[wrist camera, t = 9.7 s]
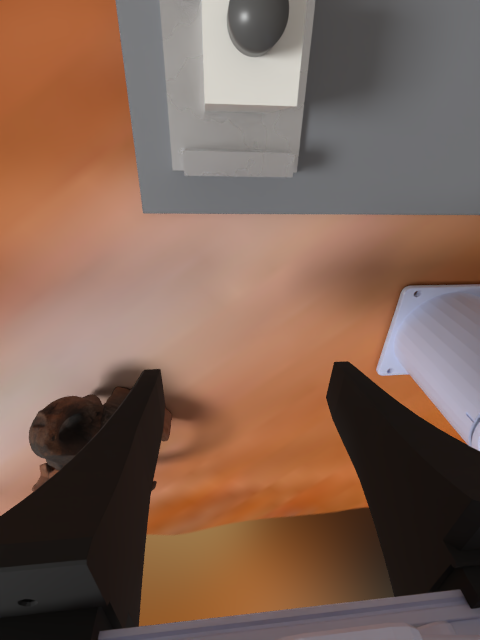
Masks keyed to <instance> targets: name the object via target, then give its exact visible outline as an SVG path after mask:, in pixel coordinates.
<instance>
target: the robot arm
mask: <svg viewBox="0 0 480 640" xmlns="http://www.w3.org/2000/svg"><path fill="white" fill-rule="evenodd" d="M416 291H418V292H417V293H416V294H415V295H414V293H415V292H416ZM388 369H389V370H388ZM376 371H377V372H378V374H379V375H404V374H410V376H411V377H412V378H413V379H414V381H415V382H416V383H417V384H418V385H419V387H420V388H421V389H422V390H423V391H424V393H425V394H426V395H427V396H428V397H429V399H430V400H431V401H432V402H433V403H434V405H435V406H436V407H437V408H438V409H439V411H440V412H441V413H442V414H443V415H444V417H445V418H446V419H447V420H448V421H449V423H450V424H451V425H452V426H453V428H454V429H455V430H456V431H457V432H458V434H459V435H460V436H461V437H462V438H463V440H464V441H465V442H466V443H467V444H468V445H467V444H465V443H463V442H461V441H459V440H457V439H456V438H454V437H452V436H450V435H448V434H447V433H445V432H443V431H441V430H440V429H438V428H436V427H435V426H433V425H432V424H430V423H429V422H427V421H425V420H424V419H422V418H421V417H419V416H418V415H416V414H415V413H413V412H412V411H410V410H409V409H408V408H406V407H405V406H403V405H402V404H401V403H399V402H398V401H397V400H395V399H394V398H393V397H391V396H390V395H389V394H388V393H386V392H385V391H384V390H383V389H381V388H380V387H379V386H378V385H376V384H375V383H374V382H373V381H371V380H370V379H369V378H368V377H367V376H365V375H364V374H363V373H362V372H361V371H359V370H358V369H357V368H356V367H355V366H353V365H352V364H351V363H350V362H334V365H333V370H332V374H331V378H330V383H329V387H328V391H327V396H326V399H327V402H328V406H329V409H330V412H331V415H332V419H333V421H334V423H335V426H336V428H337V430H338V432H339V435H340V437H341V439H342V441H343V443H344V446H345V448H346V450H347V452H348V454H349V456H350V459H351V461H352V463H353V465H354V467H355V470H356V472H357V474H358V477H359V479H360V482H361V485H362V488H363V491H364V494H365V497H366V500H367V503H368V506H369V509H370V511H371V515H372V518H373V521H374V524H375V528H376V531H377V534H378V538H379V541H380V545H381V548H382V551H383V555H384V558H385V562H386V566H387V570H388V573H389V577H390V581H391V585H392V589H393V593H394V596H395V597H391V598H382V599H373V600H365V601H356V602H348V603H339V604H330V605H321V606H313V607H304V608H296V609H287V610H278V611H270V612H261V613H253V614H244V615H235V616H227V617H218V618H209V619H201V620H192V621H183V622H175V623H167V624H158V625H150V626H140V627H139V615H140V600H141V587H142V576H143V564H144V552H145V543H146V532H147V522H148V513H149V504H150V495H151V489H152V483H153V478H154V473H155V468H156V463H157V459H158V454H159V449H160V444H161V439H162V434H163V428H164V417H165V400H164V392H163V385H162V377H161V370H160V369H153V370H144V371H143V372H142V374H141V375H140V377H139V378H138V380H137V382H136V383H135V385H134V386H133V388H132V389H131V391H130V392H129V393H128V395H127V396H126V398H125V399H124V400H123V402H122V403H121V404H120V406H119V407H118V409H117V410H116V411H115V412H114V414H113V415H112V416H111V417H110V419H109V420H108V421H107V422H106V423H105V425H104V426H103V427H102V428H101V429H100V430H99V432H98V433H97V434H96V435H95V436H94V437H93V438H92V439H91V440H90V441H89V442H88V443H87V445H86V446H85V447H84V448H83V449H82V450H81V451H80V452H79V453H78V454H76V455H75V456H74V457H73V458H72V459H71V460H70V461H69V462H68V463H67V464H66V465H65V466H64V467H63V468H62V469H60V470H59V471H58V472H57V473H56V474H55V475H53V476H52V477H51V478H50V479H49V480H47V481H46V482H45V483H44V484H43V485H41V486H40V487H39V488H38V489H37V490H35V491H34V492H33V493H32V494H30V495H29V496H28V497H26V498H25V499H24V500H22V501H21V502H20V503H18V504H17V505H15V506H14V507H13V508H11V509H10V510H8V511H7V512H6V513H4V514H3V515H2V516H0V640H480V284H469V285H413V286H407V287H405V288H404V289H403V290H402V292H401V295H400V298H399V301H398V304H397V307H396V310H395V313H394V316H393V319H392V322H391V325H390V328H389V332H388V335H387V338H386V341H385V344H384V347H383V350H382V353H381V356H380V359H379V362H378V366H377V369H376Z"/></svg>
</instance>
